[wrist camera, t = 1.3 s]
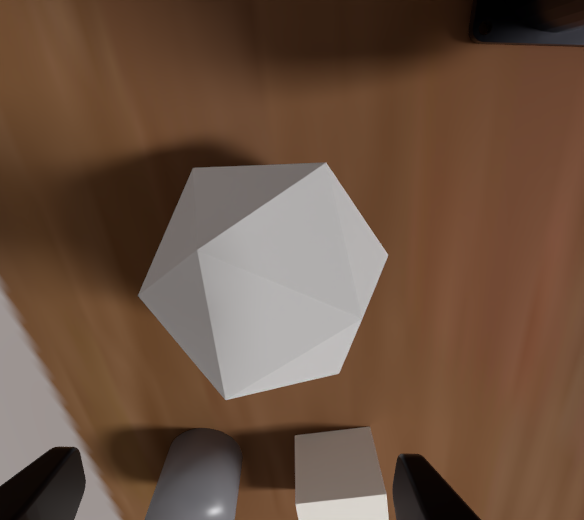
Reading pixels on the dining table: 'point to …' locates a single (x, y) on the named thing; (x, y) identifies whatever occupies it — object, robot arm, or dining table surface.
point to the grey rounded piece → (198, 478)
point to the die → (264, 275)
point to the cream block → (339, 476)
